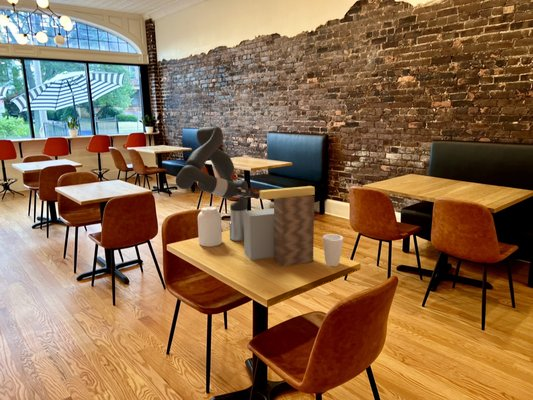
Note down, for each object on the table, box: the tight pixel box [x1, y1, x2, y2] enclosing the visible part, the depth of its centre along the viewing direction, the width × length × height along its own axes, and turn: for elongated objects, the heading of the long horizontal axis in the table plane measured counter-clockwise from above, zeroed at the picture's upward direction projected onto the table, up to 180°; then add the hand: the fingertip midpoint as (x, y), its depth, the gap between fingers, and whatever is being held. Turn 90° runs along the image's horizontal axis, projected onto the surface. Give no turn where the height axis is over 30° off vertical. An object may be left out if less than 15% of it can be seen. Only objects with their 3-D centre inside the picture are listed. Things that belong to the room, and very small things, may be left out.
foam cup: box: [322, 233, 344, 267], centre depth 186 cm, size 10×9×13 cm
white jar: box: [197, 206, 223, 248], centre depth 215 cm, size 12×12×20 cm
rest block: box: [243, 207, 274, 261], centre depth 197 cm, size 16×10×22 cm, turn 111°
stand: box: [273, 195, 315, 267], centre depth 188 cm, size 16×10×32 cm, turn 111°
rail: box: [259, 185, 316, 201], centre depth 183 cm, size 26×4×4 cm, turn 111°
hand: (253, 197), depth 178 cm, fingers open, 8 cm apart
